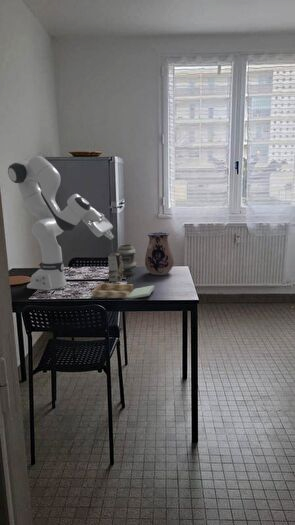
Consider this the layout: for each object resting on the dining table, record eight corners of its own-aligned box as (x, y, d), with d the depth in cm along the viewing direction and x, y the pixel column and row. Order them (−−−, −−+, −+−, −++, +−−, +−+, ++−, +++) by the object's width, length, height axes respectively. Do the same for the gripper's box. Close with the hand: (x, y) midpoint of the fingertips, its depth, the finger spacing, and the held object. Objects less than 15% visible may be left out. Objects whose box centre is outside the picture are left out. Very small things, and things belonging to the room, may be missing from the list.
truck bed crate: (92, 298, 208) (92, 291, 207) (101, 290, 221) (100, 283, 220) (126, 299, 204) (125, 292, 203) (133, 291, 217) (132, 284, 216)
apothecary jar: (115, 275, 250) (113, 246, 246) (121, 270, 262) (120, 243, 257) (133, 276, 247) (132, 247, 243) (139, 271, 258) (138, 243, 254)
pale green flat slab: (126, 297, 204) (148, 293, 201) (133, 288, 217) (154, 285, 214) (127, 299, 204) (149, 295, 201) (134, 291, 217) (154, 287, 214)
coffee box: (119, 283, 234) (118, 255, 230) (109, 282, 235) (107, 255, 231) (123, 278, 242) (122, 252, 239) (113, 278, 244) (112, 252, 240)
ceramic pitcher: (145, 277, 243) (144, 236, 237) (145, 269, 263) (144, 231, 257) (174, 277, 242) (173, 236, 237) (172, 268, 263) (172, 230, 257)
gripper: (90, 218, 199) (110, 237, 199) (103, 213, 218) (121, 231, 218) (82, 227, 201) (102, 246, 201) (96, 221, 220) (114, 239, 220)
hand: (112, 238), depth 210 cm, fingers closed
